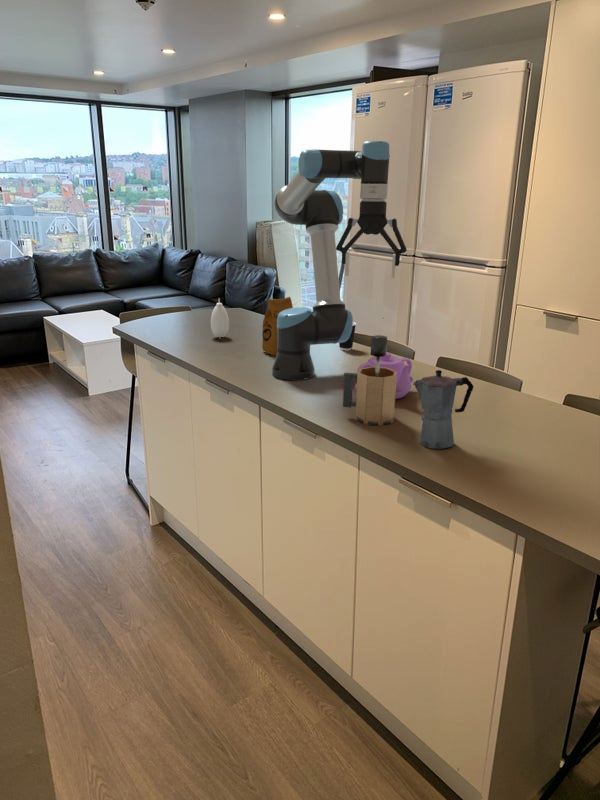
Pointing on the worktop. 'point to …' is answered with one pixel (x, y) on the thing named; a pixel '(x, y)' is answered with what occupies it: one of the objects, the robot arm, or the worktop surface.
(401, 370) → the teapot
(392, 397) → the wooden slat mug
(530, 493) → the worktop surface
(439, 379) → the moka pot
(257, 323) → the worktop surface
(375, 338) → the plunger
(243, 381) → the worktop surface
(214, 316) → the sauce bottle
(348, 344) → the dixie cup
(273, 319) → the coffee package
